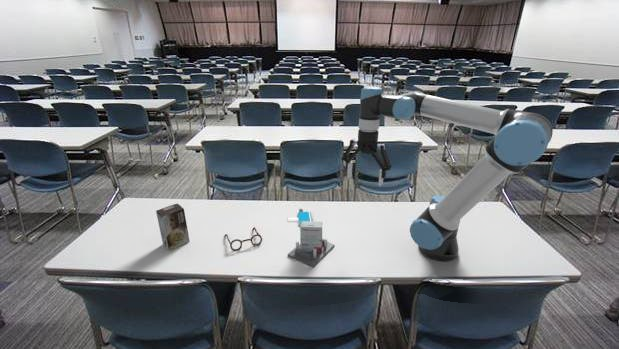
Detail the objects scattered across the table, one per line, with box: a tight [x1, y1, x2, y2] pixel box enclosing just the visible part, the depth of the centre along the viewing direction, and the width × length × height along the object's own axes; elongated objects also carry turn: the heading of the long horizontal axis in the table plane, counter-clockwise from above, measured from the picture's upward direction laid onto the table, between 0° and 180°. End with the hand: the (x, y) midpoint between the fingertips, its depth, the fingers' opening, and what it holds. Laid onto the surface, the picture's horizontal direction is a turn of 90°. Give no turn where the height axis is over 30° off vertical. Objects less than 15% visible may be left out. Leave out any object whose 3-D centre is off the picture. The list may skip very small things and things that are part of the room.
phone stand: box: [287, 208, 313, 226], centre depth 154 cm, size 20×12×2 cm, turn 5°
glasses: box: [224, 226, 263, 252], centre depth 138 cm, size 13×13×5 cm
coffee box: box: [155, 203, 190, 251], centre depth 133 cm, size 9×6×16 cm
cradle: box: [287, 238, 335, 268], centre depth 130 cm, size 12×16×5 cm
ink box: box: [299, 220, 323, 253], centre depth 129 cm, size 9×5×12 cm, turn 86°
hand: (364, 181), depth 130 cm, fingers open, 13 cm apart
